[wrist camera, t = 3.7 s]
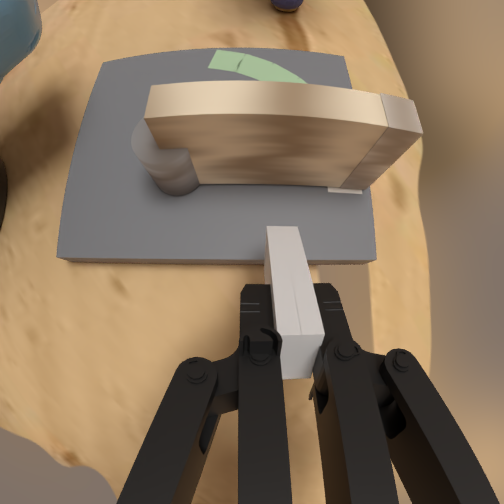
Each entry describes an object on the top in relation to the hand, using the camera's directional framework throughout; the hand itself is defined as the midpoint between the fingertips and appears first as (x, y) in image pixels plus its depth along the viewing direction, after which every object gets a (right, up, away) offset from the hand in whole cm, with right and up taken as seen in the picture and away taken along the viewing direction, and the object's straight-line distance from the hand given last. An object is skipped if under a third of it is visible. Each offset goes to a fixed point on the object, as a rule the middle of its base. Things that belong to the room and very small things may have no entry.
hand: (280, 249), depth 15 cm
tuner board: (-4, +8, +8) cm, 12 cm away
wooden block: (-1, +5, +5) cm, 7 cm away
